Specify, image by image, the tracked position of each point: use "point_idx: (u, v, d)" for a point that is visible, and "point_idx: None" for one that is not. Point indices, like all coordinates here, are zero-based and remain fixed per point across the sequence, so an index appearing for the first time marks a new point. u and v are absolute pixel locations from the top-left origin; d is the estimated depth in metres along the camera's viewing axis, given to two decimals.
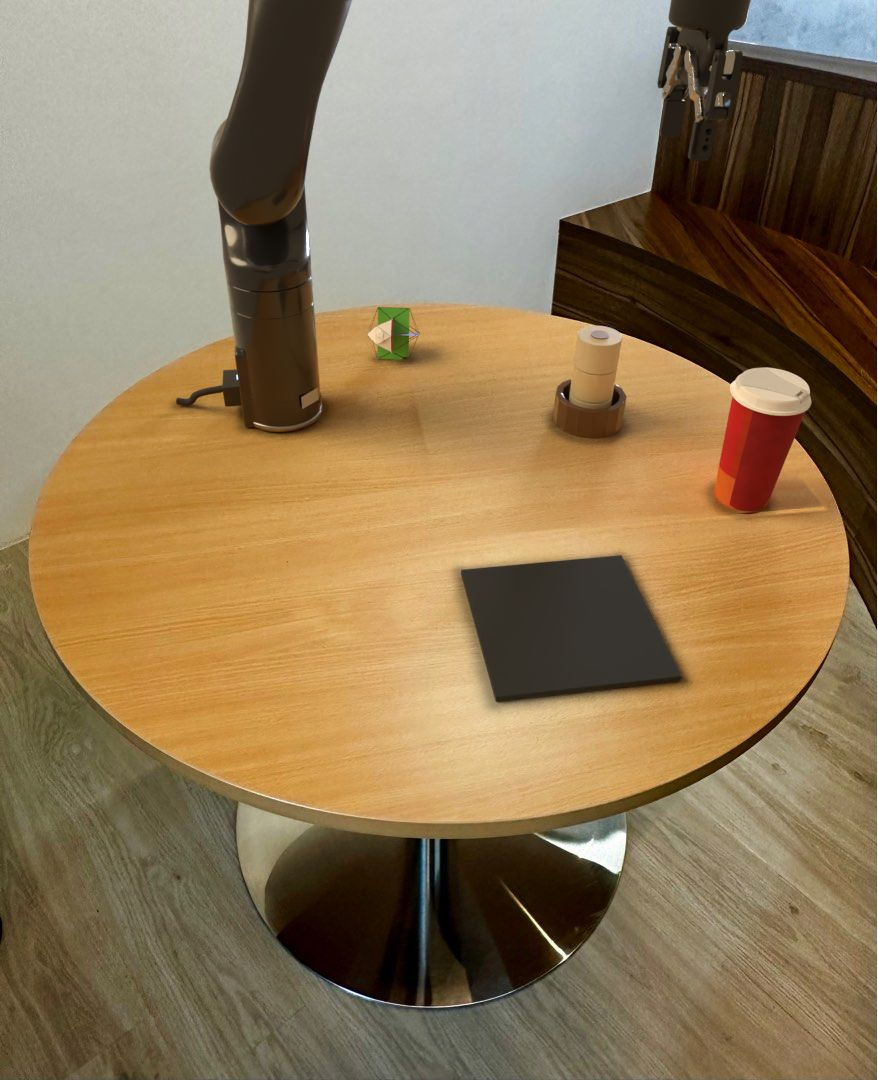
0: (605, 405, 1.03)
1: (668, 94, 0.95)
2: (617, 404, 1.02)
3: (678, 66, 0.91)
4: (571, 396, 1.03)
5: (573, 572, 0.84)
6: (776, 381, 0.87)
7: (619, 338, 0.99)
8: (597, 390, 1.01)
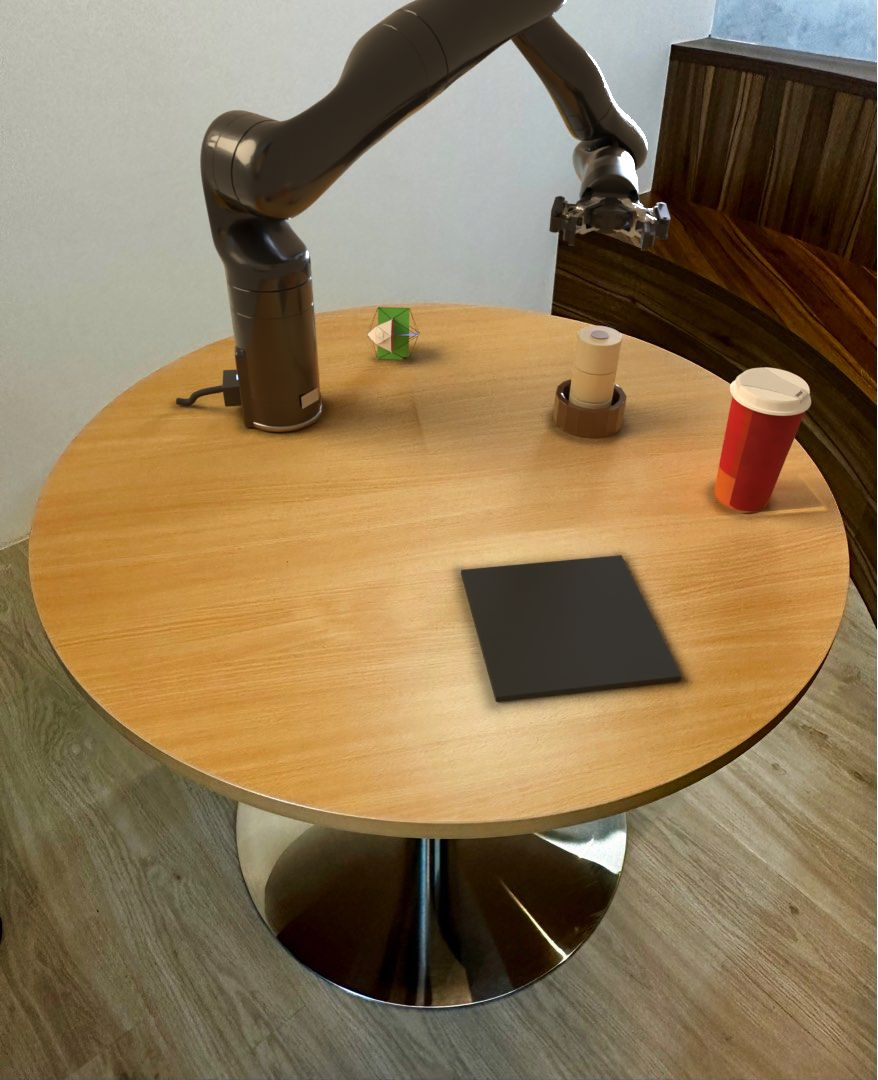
0: (605, 405, 1.03)
1: (576, 216, 1.06)
2: (617, 404, 1.02)
3: (597, 204, 1.08)
4: (571, 396, 1.03)
5: (573, 572, 0.84)
6: (776, 381, 0.87)
7: (619, 338, 0.99)
8: (597, 390, 1.01)
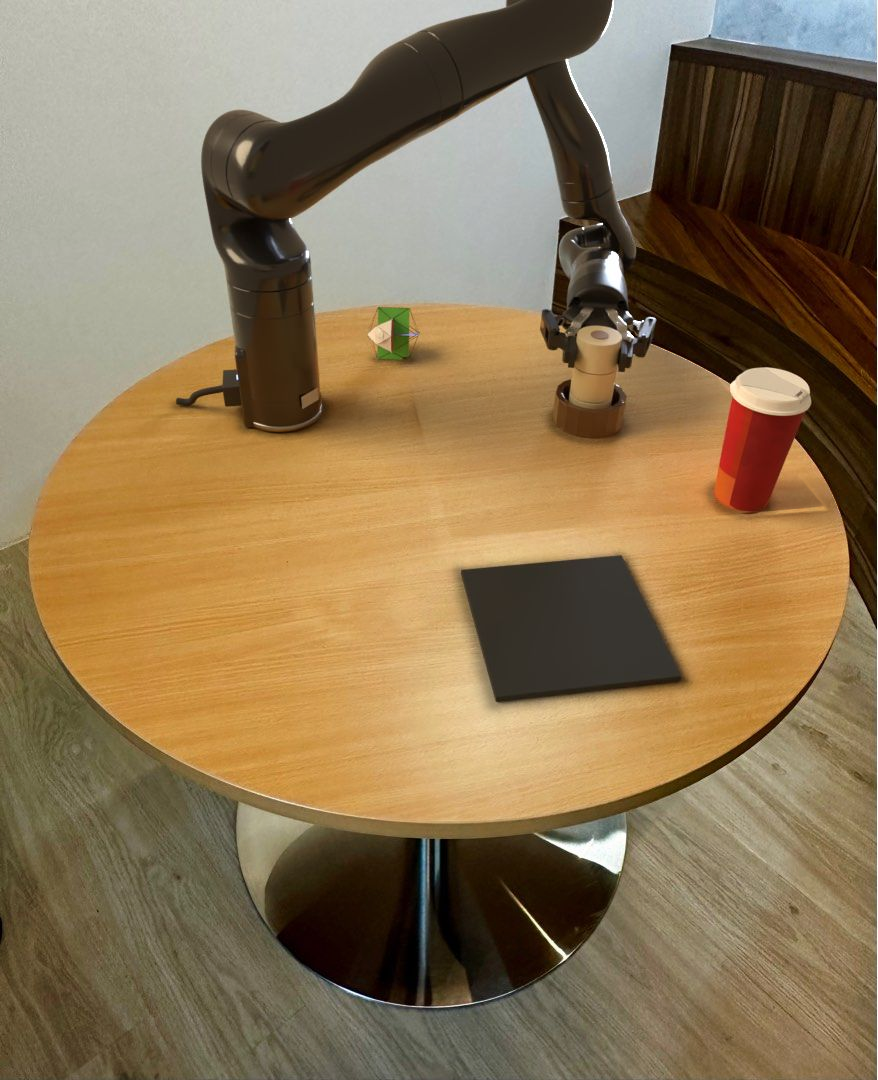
0: (605, 405, 1.03)
1: (576, 334, 1.02)
2: (617, 404, 1.02)
3: (588, 317, 1.04)
4: (571, 396, 1.03)
5: (573, 572, 0.84)
6: (776, 381, 0.87)
7: (619, 338, 0.99)
8: (597, 390, 1.01)
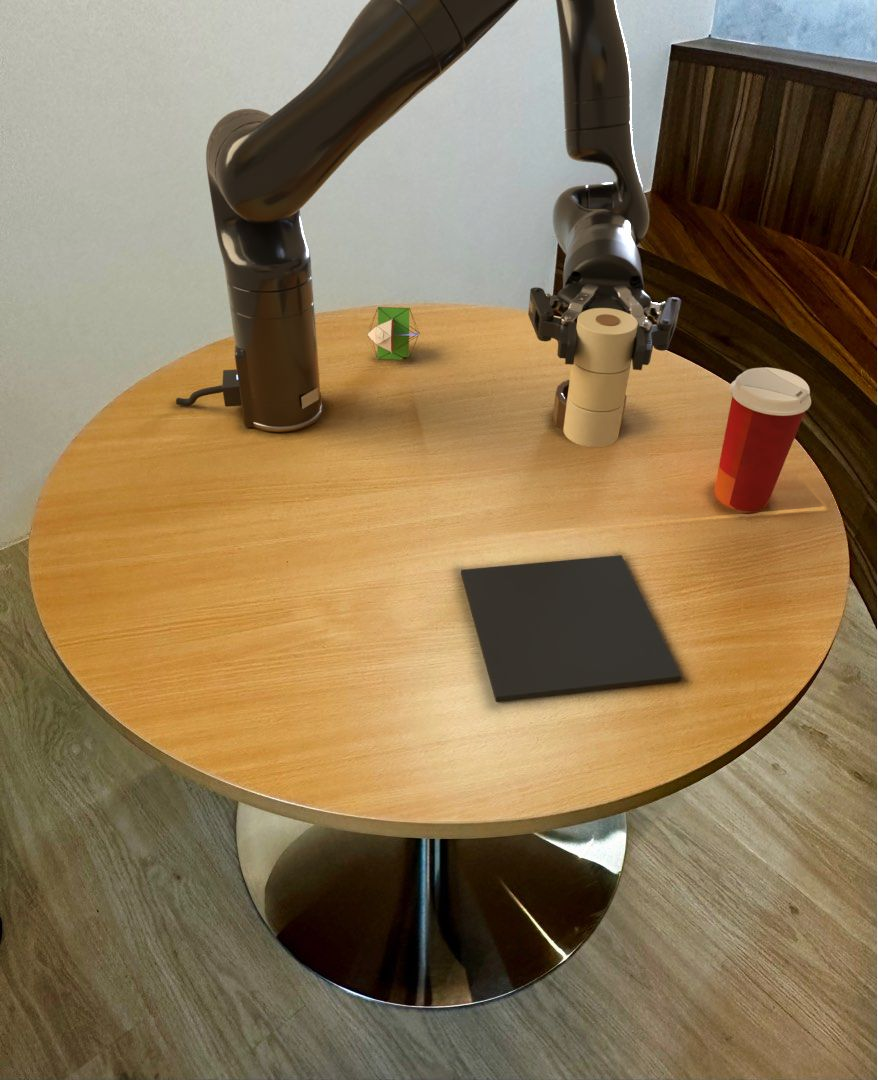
0: (614, 414, 0.77)
1: (575, 319, 0.76)
2: None
3: (592, 297, 0.79)
4: (569, 402, 0.78)
5: (573, 572, 0.84)
6: (776, 381, 0.87)
7: (634, 324, 0.73)
8: (605, 394, 0.75)
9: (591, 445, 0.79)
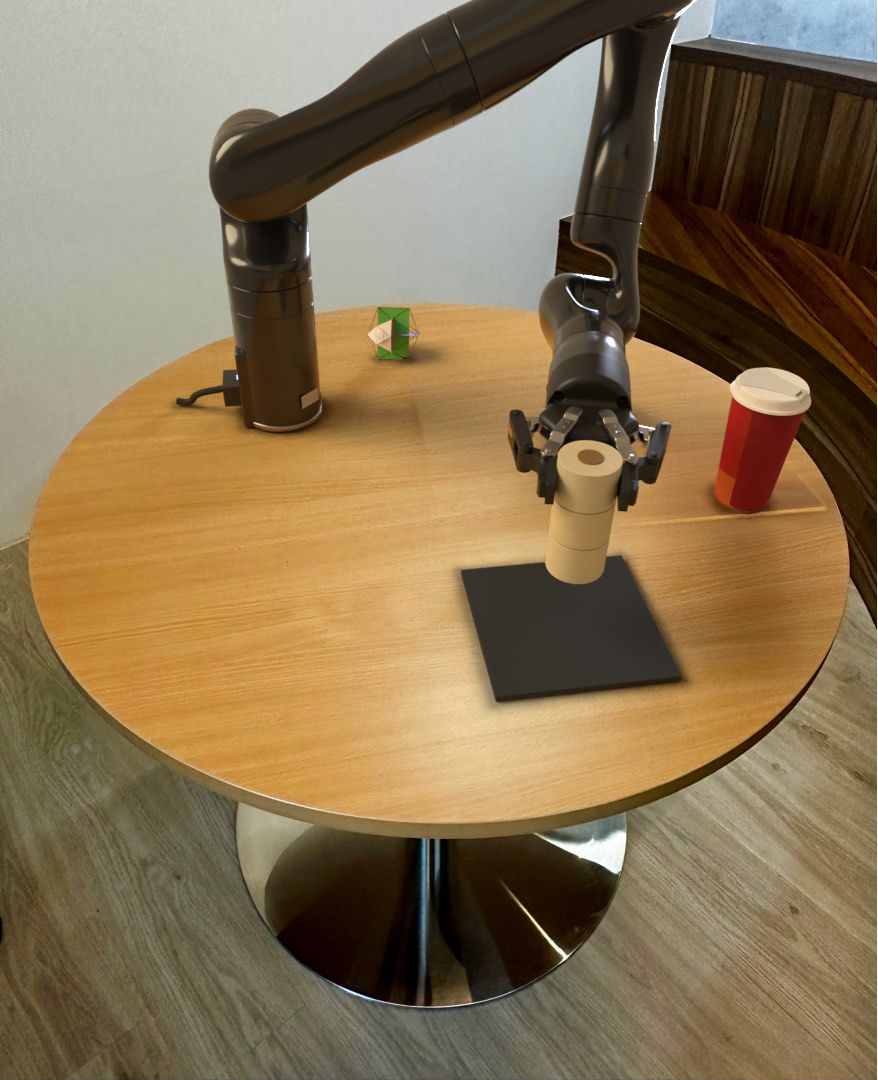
0: (599, 552, 0.72)
1: (556, 452, 0.71)
2: None
3: (575, 424, 0.73)
4: (551, 537, 0.73)
5: None
6: (776, 381, 0.87)
7: (619, 462, 0.68)
8: (588, 534, 0.70)
9: (574, 582, 0.73)
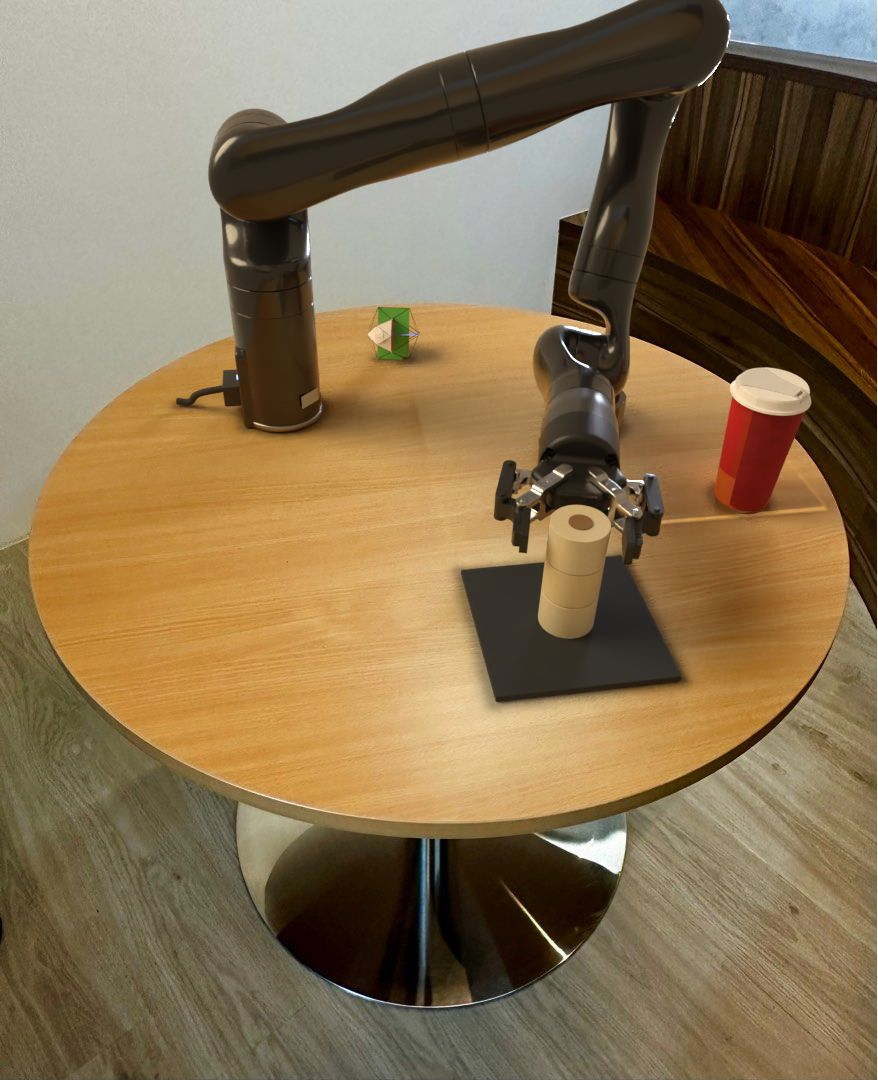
0: (589, 609, 0.76)
1: (531, 504, 0.75)
2: (617, 404, 1.02)
3: (561, 481, 0.77)
4: (543, 595, 0.77)
5: None
6: (776, 381, 0.87)
7: (607, 527, 0.72)
8: (578, 594, 0.74)
9: (565, 637, 0.77)
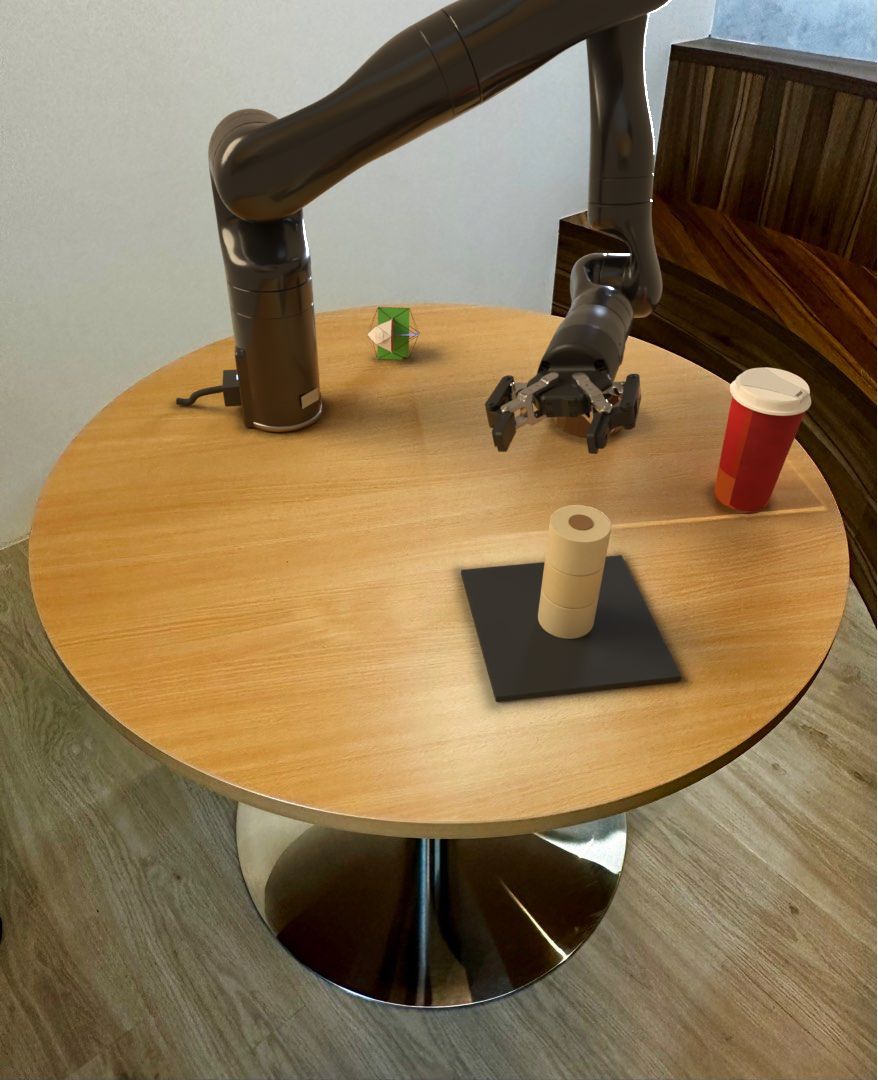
0: (589, 609, 0.76)
1: (514, 409, 0.84)
2: (617, 404, 1.02)
3: (546, 387, 0.85)
4: (543, 595, 0.77)
5: None
6: (776, 381, 0.87)
7: (607, 527, 0.72)
8: (578, 594, 0.74)
9: (565, 637, 0.77)
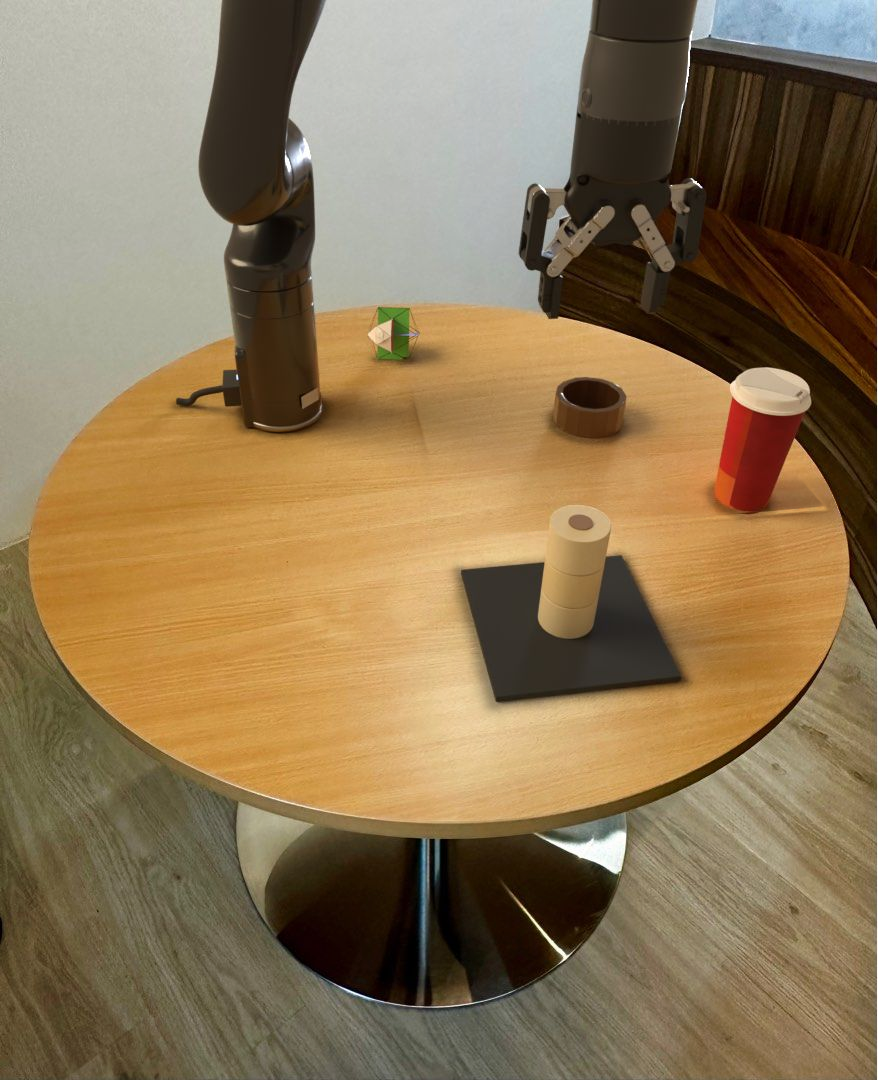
0: (589, 609, 0.76)
1: None
2: (617, 404, 1.02)
3: None
4: (543, 595, 0.77)
5: None
6: (776, 381, 0.87)
7: (607, 527, 0.72)
8: (578, 594, 0.74)
9: (565, 637, 0.77)
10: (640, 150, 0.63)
